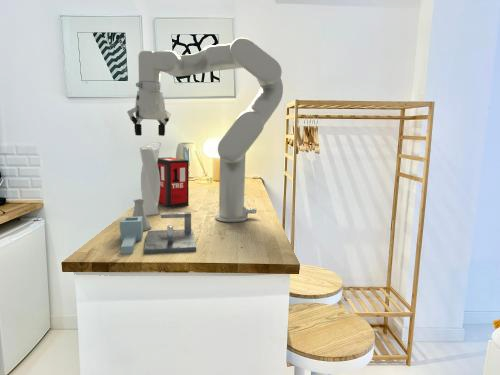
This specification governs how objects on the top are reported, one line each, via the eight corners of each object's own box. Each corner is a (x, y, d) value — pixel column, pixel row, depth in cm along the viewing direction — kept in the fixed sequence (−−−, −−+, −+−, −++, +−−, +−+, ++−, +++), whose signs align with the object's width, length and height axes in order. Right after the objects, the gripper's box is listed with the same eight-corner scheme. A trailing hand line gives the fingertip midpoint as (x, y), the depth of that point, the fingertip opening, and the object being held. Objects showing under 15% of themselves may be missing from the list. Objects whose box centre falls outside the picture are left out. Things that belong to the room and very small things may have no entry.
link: (123, 235, 114) (122, 217, 113) (142, 234, 115) (142, 216, 114) (115, 254, 97) (114, 232, 96) (138, 252, 99) (138, 231, 98)
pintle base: (192, 232, 118) (192, 211, 117) (196, 251, 101) (196, 226, 100) (147, 234, 115) (147, 212, 114) (144, 253, 98) (143, 228, 97)
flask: (142, 225, 126) (141, 196, 125) (155, 229, 122) (154, 200, 120) (124, 229, 121) (123, 199, 119) (136, 233, 116) (135, 203, 115)
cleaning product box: (153, 201, 165) (152, 158, 162) (170, 199, 171) (170, 157, 168) (170, 208, 153) (169, 161, 149) (188, 205, 158) (188, 160, 155)
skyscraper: (159, 210, 148) (158, 141, 144) (164, 214, 142) (163, 142, 137) (139, 212, 144) (137, 141, 140) (143, 216, 138) (141, 142, 133)
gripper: (133, 84, 121) (134, 135, 124) (175, 89, 134) (175, 136, 137) (122, 85, 126) (123, 134, 129) (164, 90, 139) (164, 135, 142)
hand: (150, 135), depth 133 cm, fingers open, 9 cm apart
